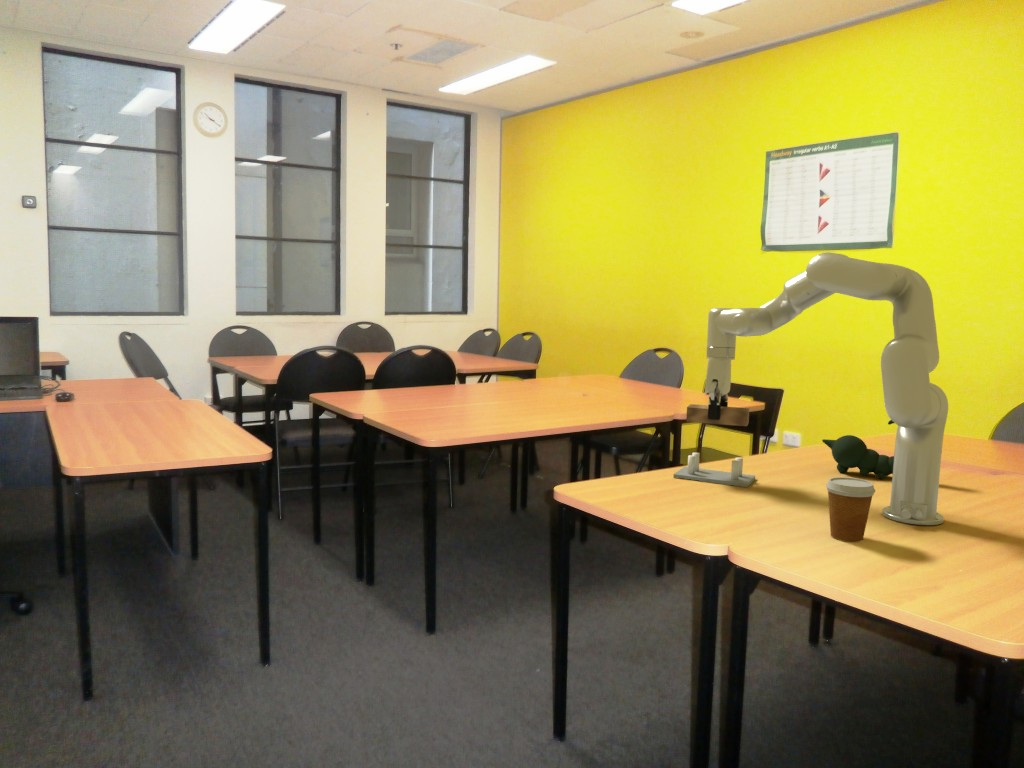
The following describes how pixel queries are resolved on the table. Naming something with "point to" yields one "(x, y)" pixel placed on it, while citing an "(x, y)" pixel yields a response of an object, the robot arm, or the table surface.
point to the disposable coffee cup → (849, 507)
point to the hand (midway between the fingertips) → (717, 417)
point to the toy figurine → (859, 456)
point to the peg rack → (715, 473)
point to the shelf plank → (726, 416)
